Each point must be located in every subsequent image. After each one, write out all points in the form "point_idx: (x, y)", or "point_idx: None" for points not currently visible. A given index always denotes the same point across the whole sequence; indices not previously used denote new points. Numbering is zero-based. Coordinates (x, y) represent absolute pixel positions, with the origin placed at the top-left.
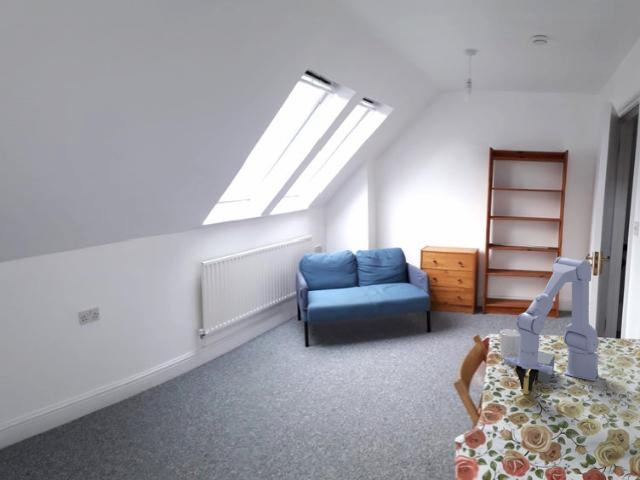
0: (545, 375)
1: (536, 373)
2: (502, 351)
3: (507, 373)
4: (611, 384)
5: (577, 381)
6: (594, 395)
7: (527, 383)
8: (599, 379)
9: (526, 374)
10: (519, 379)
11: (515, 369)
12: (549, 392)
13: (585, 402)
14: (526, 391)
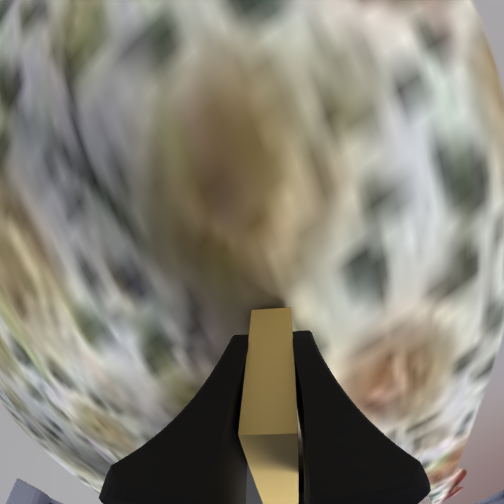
0: None
1: (102, 501)
2: (426, 501)
3: (410, 437)
4: (90, 471)
5: None
6: (59, 420)
7: (254, 385)
8: None
9: (293, 473)
10: (343, 394)
11: (429, 491)
12: (167, 396)
13: (31, 367)
14: (263, 324)
